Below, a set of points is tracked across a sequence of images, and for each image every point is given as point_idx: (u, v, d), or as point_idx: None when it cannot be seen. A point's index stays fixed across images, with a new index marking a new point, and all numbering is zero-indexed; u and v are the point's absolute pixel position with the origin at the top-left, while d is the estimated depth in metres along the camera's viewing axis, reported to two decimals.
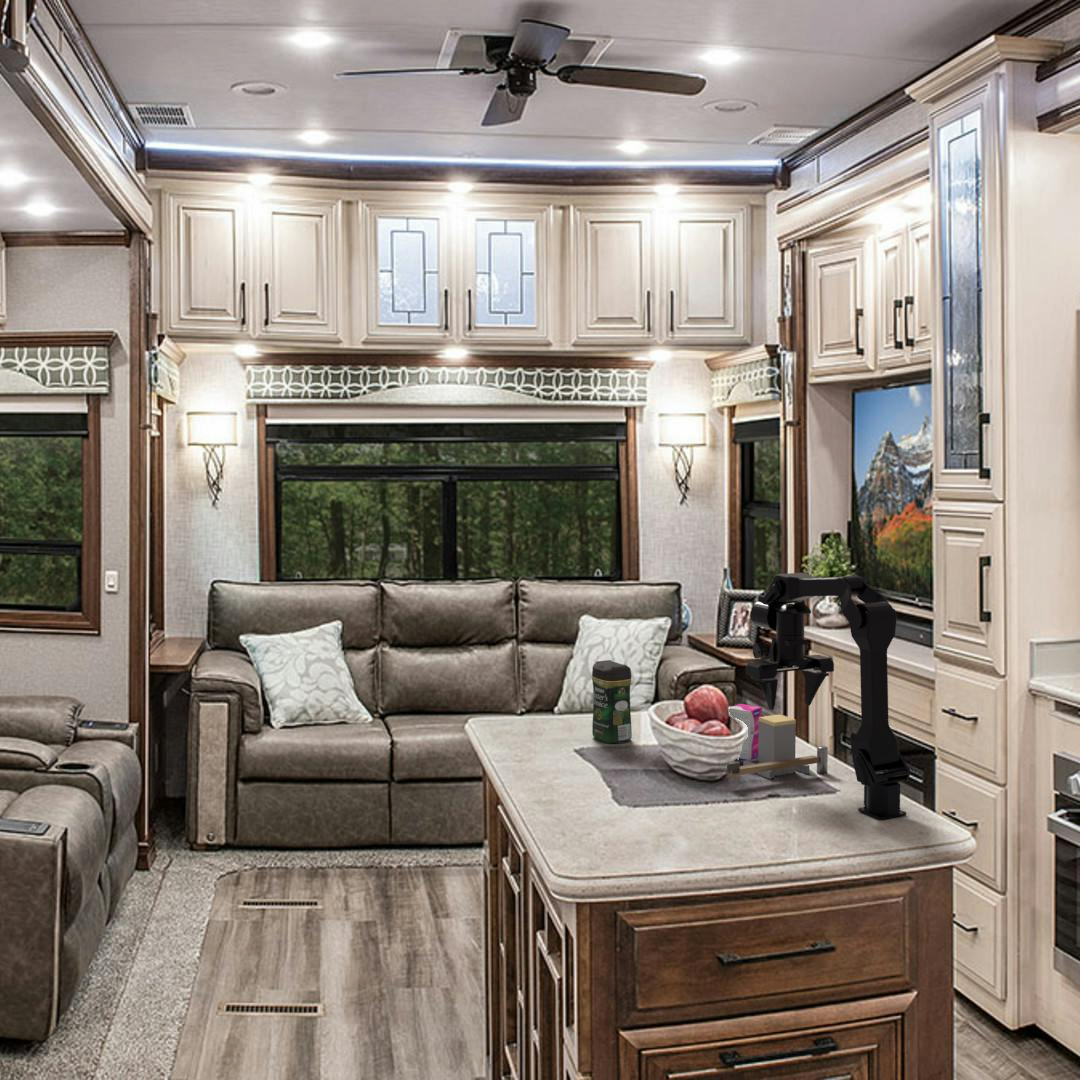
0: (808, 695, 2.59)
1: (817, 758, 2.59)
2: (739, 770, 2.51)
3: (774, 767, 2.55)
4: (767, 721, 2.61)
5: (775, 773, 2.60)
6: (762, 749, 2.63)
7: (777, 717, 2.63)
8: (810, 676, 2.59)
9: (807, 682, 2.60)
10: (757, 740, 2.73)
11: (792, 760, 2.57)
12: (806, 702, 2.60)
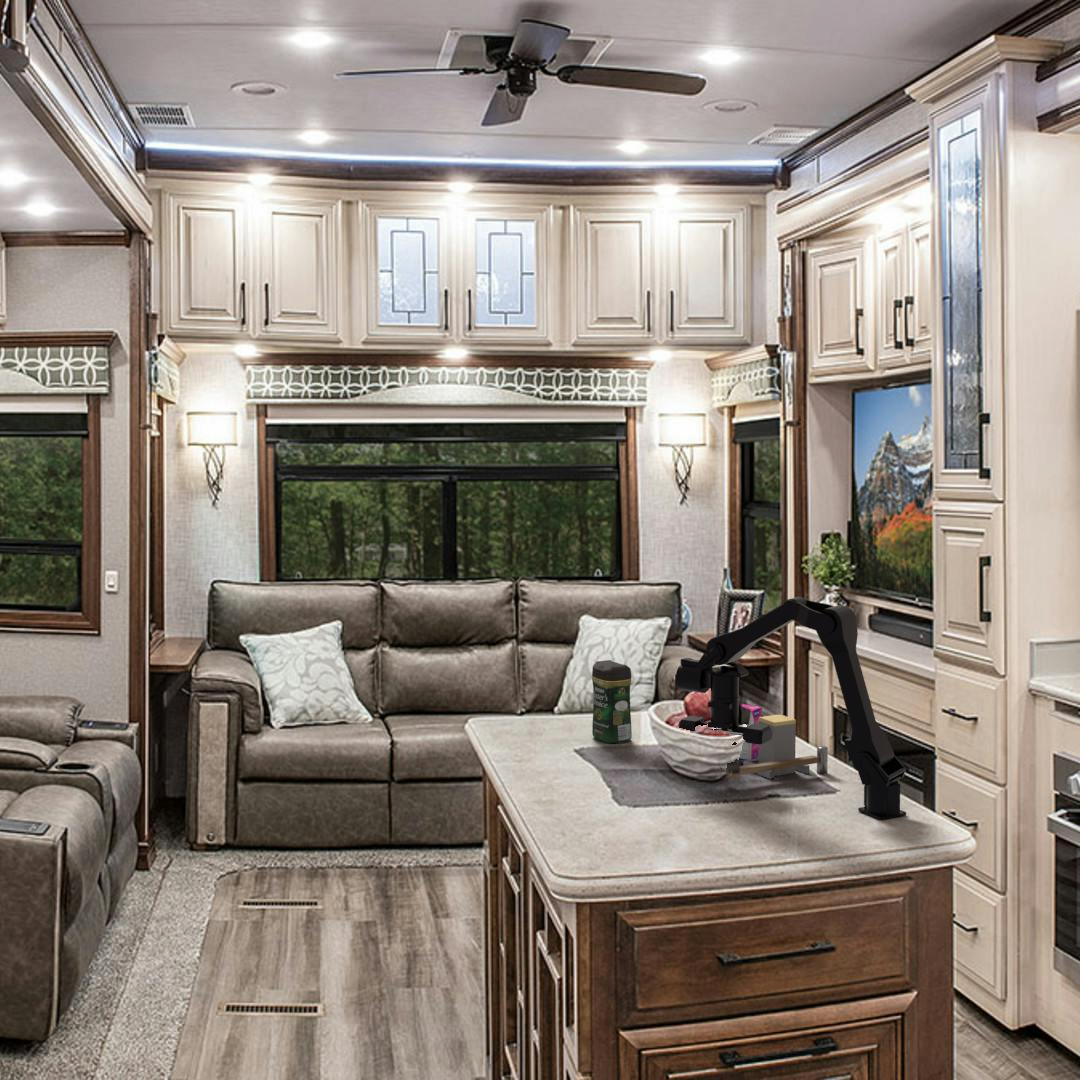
0: None
1: (817, 758, 2.59)
2: (739, 770, 2.51)
3: (774, 767, 2.55)
4: (767, 721, 2.61)
5: (775, 773, 2.60)
6: (762, 749, 2.63)
7: (777, 717, 2.63)
8: None
9: None
10: None
11: (792, 760, 2.57)
12: None
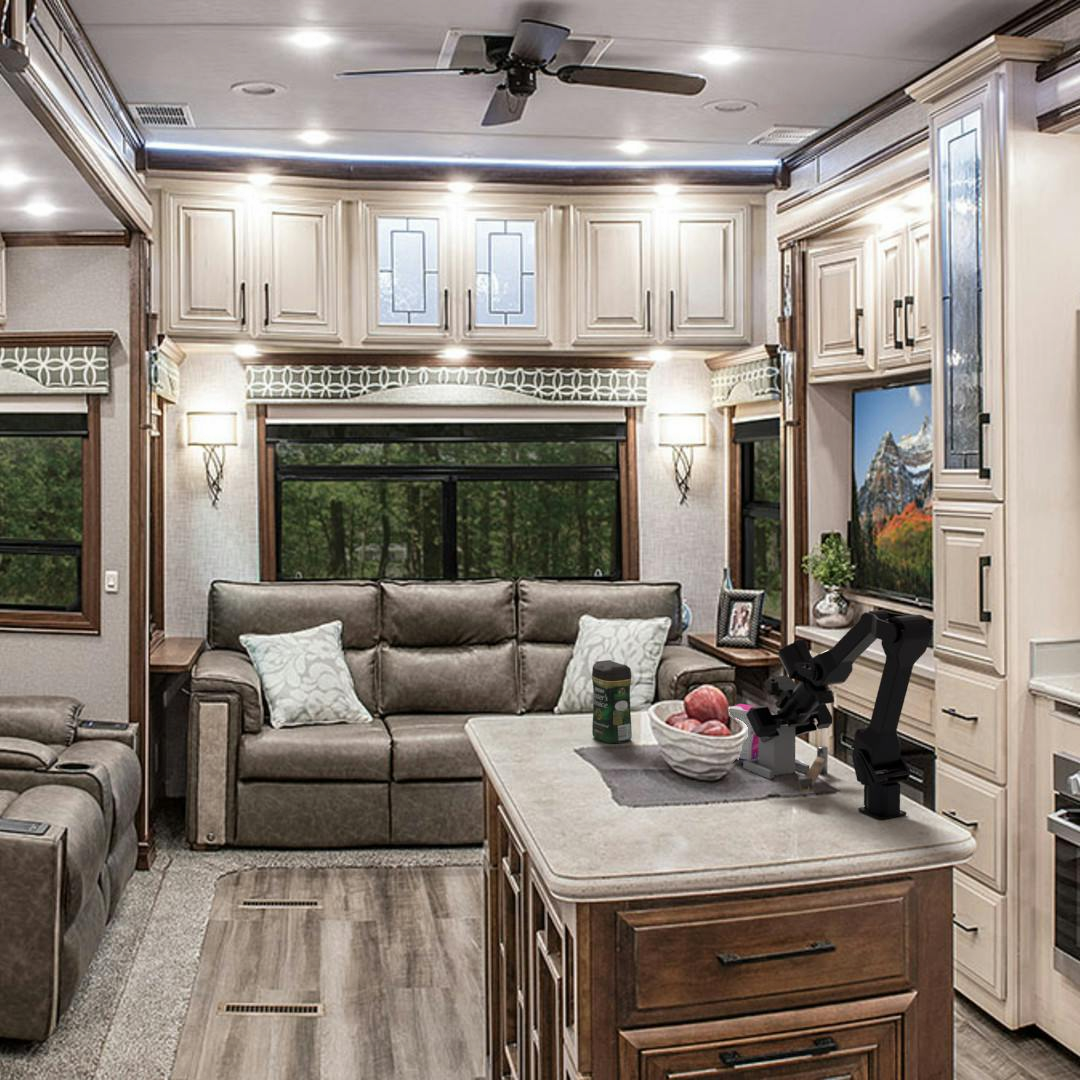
0: None
1: (825, 759, 2.59)
2: None
3: (817, 775, 2.49)
4: None
5: (775, 773, 2.60)
6: (762, 749, 2.63)
7: None
8: None
9: None
10: (757, 740, 2.73)
11: (818, 765, 2.54)
12: None
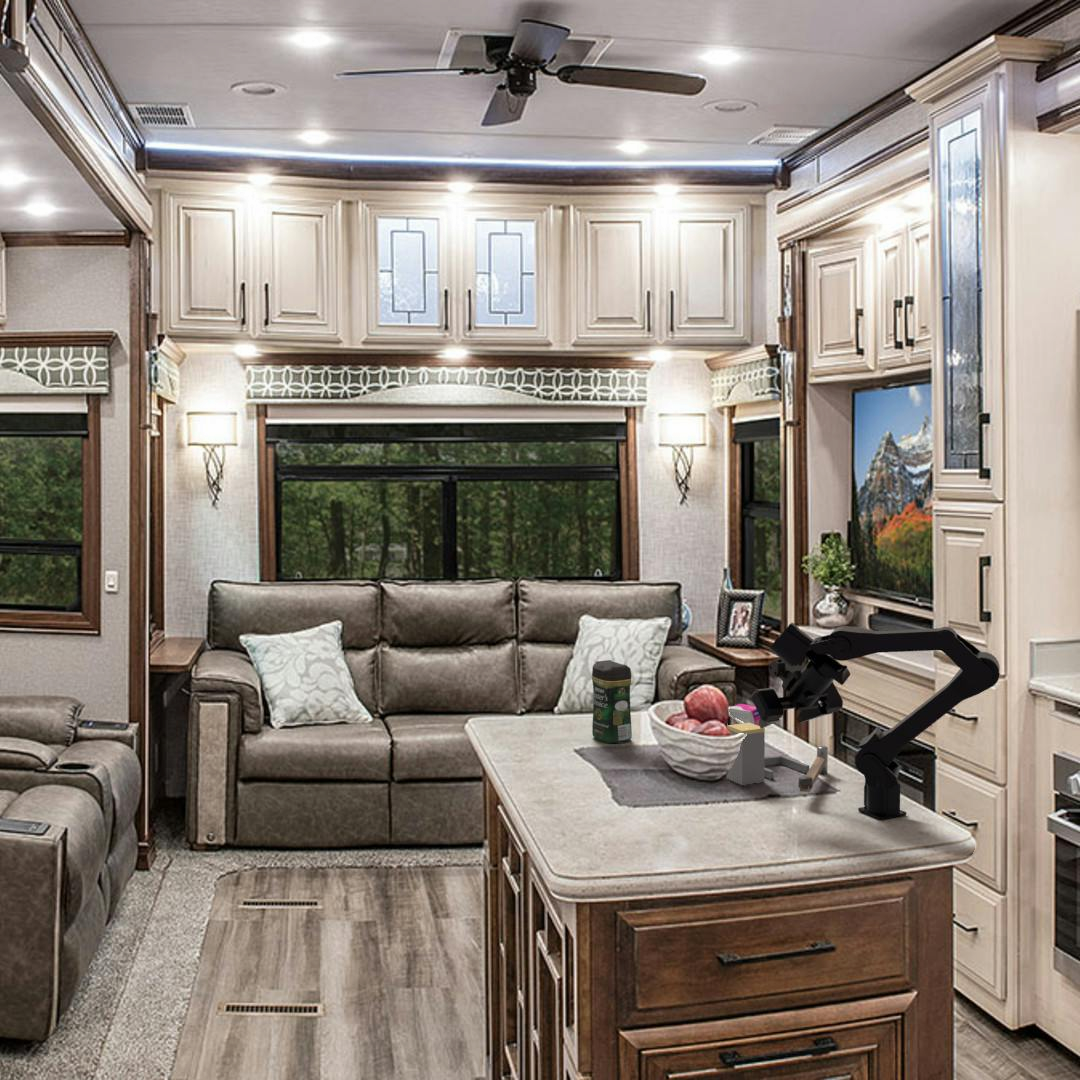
0: (803, 716, 2.48)
1: (825, 759, 2.59)
2: None
3: (817, 775, 2.49)
4: (735, 729, 2.54)
5: (743, 783, 2.53)
6: None
7: (746, 725, 2.56)
8: None
9: None
10: None
11: (818, 765, 2.54)
12: (797, 718, 2.50)
